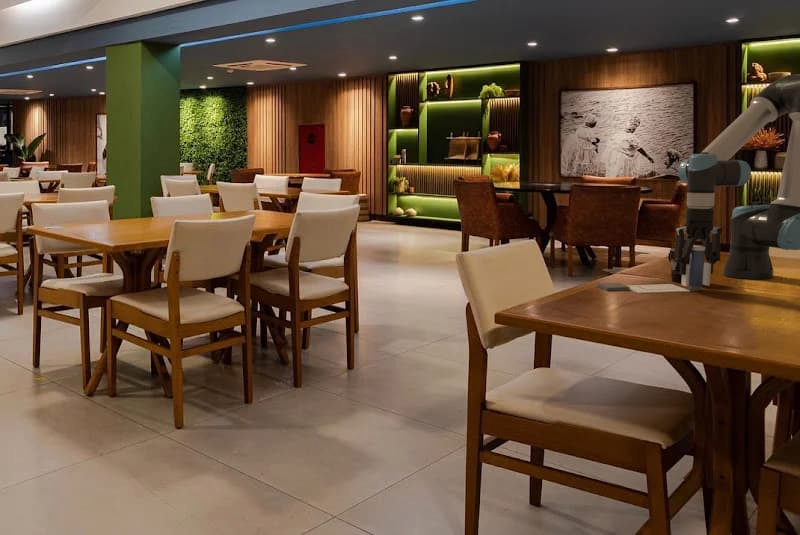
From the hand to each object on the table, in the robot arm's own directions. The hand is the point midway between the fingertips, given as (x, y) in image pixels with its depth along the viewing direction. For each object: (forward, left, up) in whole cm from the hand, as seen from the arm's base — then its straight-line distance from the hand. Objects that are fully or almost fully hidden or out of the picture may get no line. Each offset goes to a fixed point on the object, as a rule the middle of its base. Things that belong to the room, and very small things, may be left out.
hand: (695, 285), depth 225 cm
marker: (0, 0, -1) cm, 1 cm away
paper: (+11, -3, -1) cm, 11 cm away
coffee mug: (-4, -15, -2) cm, 16 cm away
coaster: (+23, -6, -1) cm, 24 cm away
